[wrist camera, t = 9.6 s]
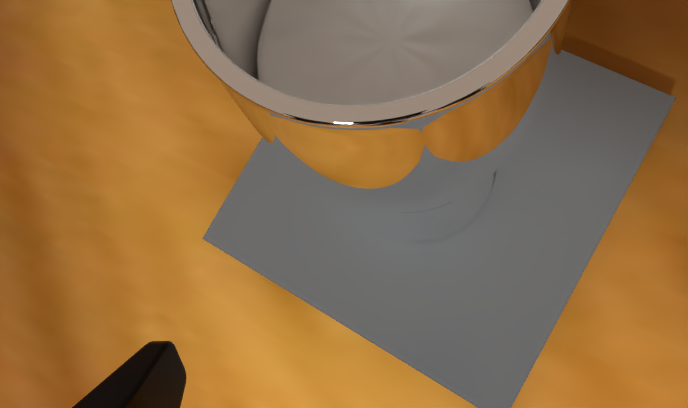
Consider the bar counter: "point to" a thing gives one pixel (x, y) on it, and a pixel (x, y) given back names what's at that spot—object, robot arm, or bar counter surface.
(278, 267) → the slate board
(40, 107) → the bar counter surface
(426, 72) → the beer glass
